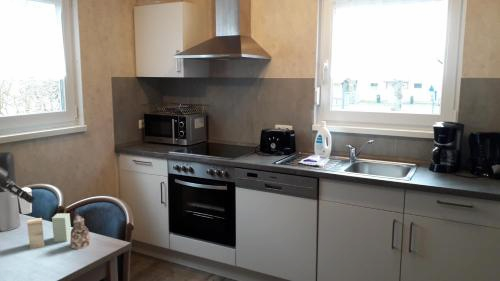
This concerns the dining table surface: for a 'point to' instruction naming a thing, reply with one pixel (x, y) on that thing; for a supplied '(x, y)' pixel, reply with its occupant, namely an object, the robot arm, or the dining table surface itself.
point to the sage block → (61, 227)
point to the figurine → (79, 234)
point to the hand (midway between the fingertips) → (29, 199)
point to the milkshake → (25, 202)
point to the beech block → (35, 233)
